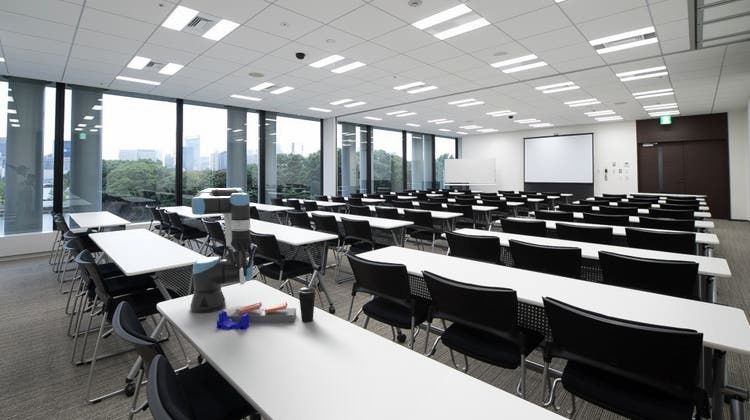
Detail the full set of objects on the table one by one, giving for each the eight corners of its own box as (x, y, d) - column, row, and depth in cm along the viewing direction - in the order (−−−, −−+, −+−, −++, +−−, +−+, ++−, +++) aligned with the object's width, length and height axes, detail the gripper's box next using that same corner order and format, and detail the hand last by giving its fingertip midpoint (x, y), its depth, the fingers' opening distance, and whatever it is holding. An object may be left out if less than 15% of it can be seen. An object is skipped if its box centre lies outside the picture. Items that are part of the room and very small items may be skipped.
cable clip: (216, 328, 148) (216, 314, 147) (223, 324, 152) (223, 310, 152) (242, 332, 145) (242, 317, 145) (249, 327, 150) (248, 313, 149)
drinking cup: (318, 317, 160) (317, 273, 158) (313, 324, 153) (313, 278, 151) (301, 316, 161) (300, 272, 159) (296, 323, 154) (295, 277, 151)
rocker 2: (265, 313, 155) (264, 310, 155) (267, 309, 159) (266, 306, 159) (285, 308, 155) (285, 305, 155) (287, 305, 160) (286, 301, 160)
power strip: (219, 324, 152) (218, 316, 152) (225, 316, 160) (225, 309, 160) (293, 322, 154) (293, 315, 154) (296, 314, 162) (295, 307, 162)
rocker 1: (239, 314, 154) (238, 311, 154) (242, 310, 159) (241, 307, 158) (259, 308, 155) (258, 305, 154) (262, 305, 159) (261, 301, 159)
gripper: (222, 231, 148) (224, 286, 151) (254, 230, 149) (255, 286, 152) (228, 228, 156) (230, 281, 158) (258, 228, 157) (260, 280, 159)
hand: (242, 283), depth 155 cm, fingers closed
